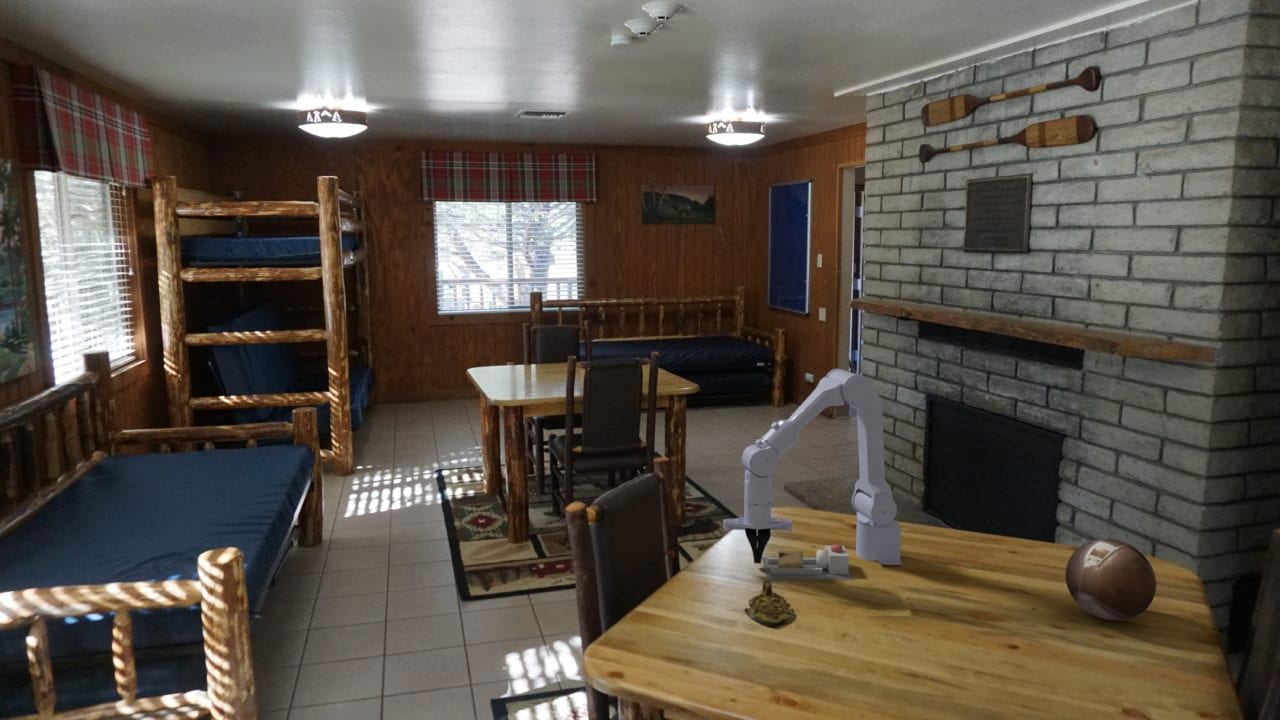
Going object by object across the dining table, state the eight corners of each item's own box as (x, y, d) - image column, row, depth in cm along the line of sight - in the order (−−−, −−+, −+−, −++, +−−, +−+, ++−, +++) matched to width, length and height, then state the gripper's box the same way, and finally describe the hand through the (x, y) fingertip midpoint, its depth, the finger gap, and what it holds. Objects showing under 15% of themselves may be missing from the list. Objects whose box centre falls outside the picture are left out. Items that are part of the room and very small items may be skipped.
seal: (799, 634, 159) (786, 599, 173) (802, 611, 158) (789, 577, 173) (749, 629, 159) (740, 594, 173) (752, 606, 158) (743, 573, 173)
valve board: (842, 562, 189) (843, 536, 188) (853, 584, 178) (854, 556, 177) (761, 561, 190) (761, 535, 189) (767, 583, 178) (767, 556, 177)
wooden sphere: (1051, 617, 162) (1056, 542, 159) (1078, 593, 172) (1083, 522, 170) (1139, 643, 151) (1146, 563, 149) (1162, 615, 162) (1169, 540, 159)
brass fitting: (800, 561, 186) (801, 547, 184) (802, 573, 182) (803, 559, 180) (777, 561, 186) (778, 546, 184) (779, 573, 182) (780, 559, 180)
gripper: (789, 495, 186) (788, 554, 188) (722, 495, 186) (722, 554, 188) (793, 505, 179) (792, 567, 181) (724, 505, 179) (724, 566, 181)
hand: (757, 561), depth 184 cm, fingers closed
